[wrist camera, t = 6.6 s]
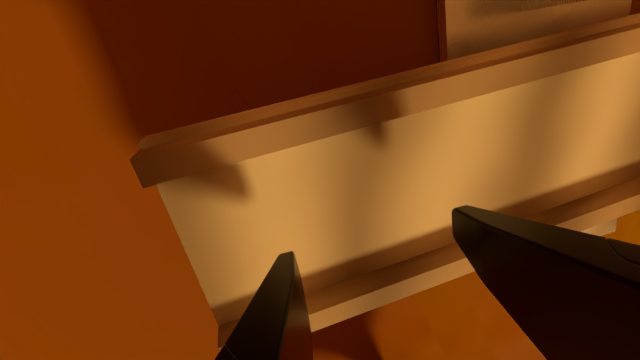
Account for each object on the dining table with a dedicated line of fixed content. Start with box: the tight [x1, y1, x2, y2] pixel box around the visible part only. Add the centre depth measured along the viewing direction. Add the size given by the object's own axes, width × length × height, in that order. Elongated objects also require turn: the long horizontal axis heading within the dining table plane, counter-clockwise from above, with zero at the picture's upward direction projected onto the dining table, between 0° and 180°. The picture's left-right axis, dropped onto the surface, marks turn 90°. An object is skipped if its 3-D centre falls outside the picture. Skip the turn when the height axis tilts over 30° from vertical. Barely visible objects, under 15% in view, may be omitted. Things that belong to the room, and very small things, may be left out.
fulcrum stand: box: [437, 0, 632, 236], centre depth 16 cm, size 10×16×5 cm, turn 12°
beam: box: [130, 13, 640, 352], centre depth 13 cm, size 28×8×2 cm, turn 102°
